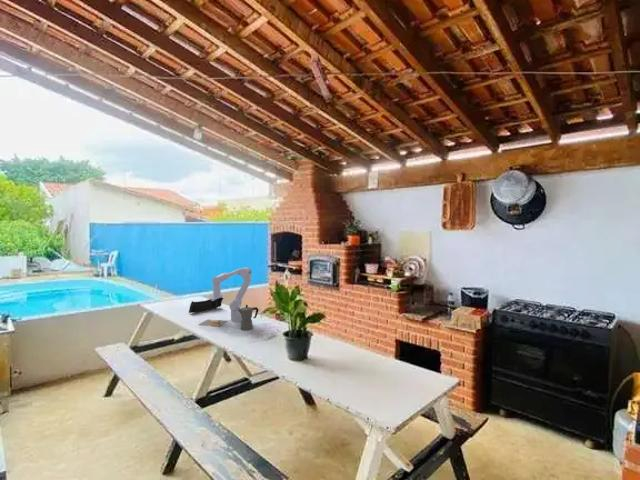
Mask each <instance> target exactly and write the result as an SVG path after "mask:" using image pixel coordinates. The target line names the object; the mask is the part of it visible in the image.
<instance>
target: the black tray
mask: <svg viewBox="0 0 640 480" xmlns="http://www.w3.org/2000/svg"><path fill="white" fill-rule="evenodd" d="M210 300H211V298H210V299H206V300H201V301H200V300H199V301H192V300H191V302H190V304H189V308H188V309H189V310H188V313H192V314H193V313H195V314H196V313H203V312H208V311H209V312H210V311H212V310H214V309H213V306H212V303H211V302H210ZM216 301H217V300H216ZM218 308H219V307H218V305H217V306H216V309H218Z"/></svg>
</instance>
